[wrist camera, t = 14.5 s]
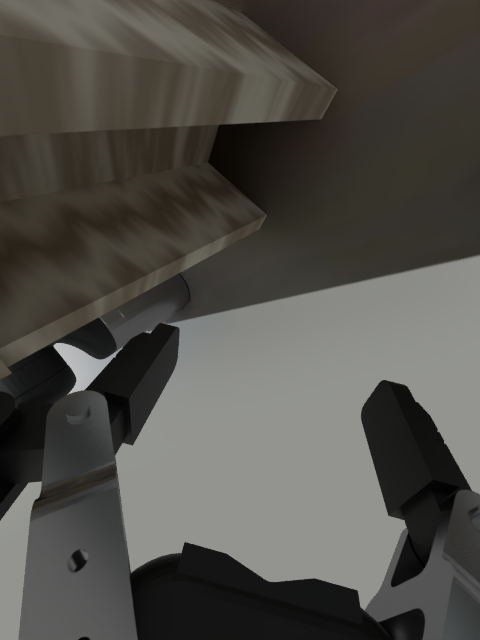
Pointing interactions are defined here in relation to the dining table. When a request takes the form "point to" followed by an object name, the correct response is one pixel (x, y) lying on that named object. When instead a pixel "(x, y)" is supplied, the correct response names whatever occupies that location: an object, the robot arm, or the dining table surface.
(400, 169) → the dining table surface
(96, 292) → the wooden open box
